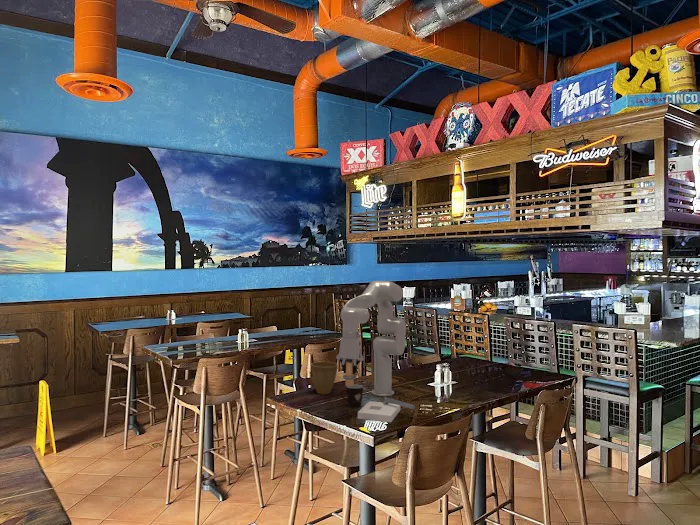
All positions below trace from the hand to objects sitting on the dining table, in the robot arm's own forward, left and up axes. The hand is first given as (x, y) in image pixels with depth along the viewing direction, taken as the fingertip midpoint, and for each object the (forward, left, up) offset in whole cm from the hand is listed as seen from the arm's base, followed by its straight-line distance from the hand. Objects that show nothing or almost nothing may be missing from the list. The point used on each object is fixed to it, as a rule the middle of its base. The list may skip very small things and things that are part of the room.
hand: (349, 372), depth 253 cm
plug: (0, 0, -6) cm, 6 cm away
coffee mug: (-13, -3, -20) cm, 24 cm away
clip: (-8, +22, -16) cm, 29 cm away
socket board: (-4, +14, -20) cm, 25 cm away
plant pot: (-32, -25, -20) cm, 45 cm away
